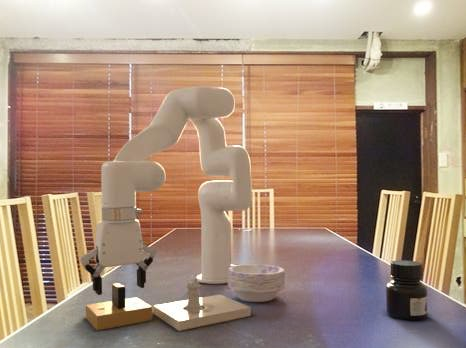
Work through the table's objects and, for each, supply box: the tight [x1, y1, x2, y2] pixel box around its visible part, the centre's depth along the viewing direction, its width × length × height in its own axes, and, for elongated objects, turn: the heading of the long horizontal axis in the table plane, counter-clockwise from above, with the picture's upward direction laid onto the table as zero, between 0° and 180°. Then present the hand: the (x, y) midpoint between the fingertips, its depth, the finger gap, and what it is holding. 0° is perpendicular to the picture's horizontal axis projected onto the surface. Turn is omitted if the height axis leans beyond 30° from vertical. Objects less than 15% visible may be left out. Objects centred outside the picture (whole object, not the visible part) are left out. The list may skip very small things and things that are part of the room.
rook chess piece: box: [185, 280, 203, 311], centre depth 99 cm, size 4×4×8 cm
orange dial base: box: [85, 296, 153, 331], centre depth 97 cm, size 12×10×3 cm
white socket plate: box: [153, 294, 251, 332], centre depth 100 cm, size 18×14×2 cm
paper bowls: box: [227, 263, 286, 303], centre depth 114 cm, size 15×15×8 cm
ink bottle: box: [385, 259, 428, 321], centre depth 99 cm, size 10×9×12 cm
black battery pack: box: [111, 282, 126, 309], centre depth 97 cm, size 5×2×5 cm, turn 33°
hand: (120, 290), depth 98 cm, fingers open, 9 cm apart
